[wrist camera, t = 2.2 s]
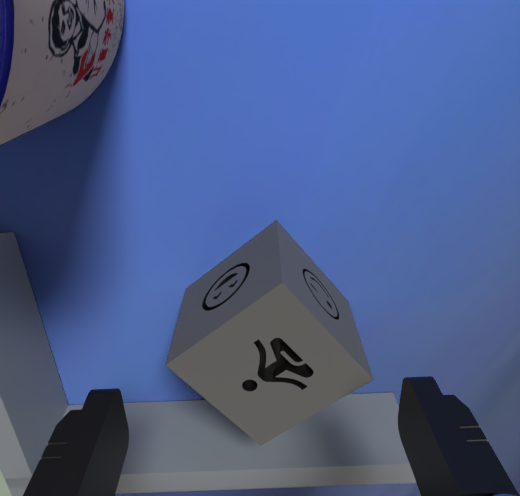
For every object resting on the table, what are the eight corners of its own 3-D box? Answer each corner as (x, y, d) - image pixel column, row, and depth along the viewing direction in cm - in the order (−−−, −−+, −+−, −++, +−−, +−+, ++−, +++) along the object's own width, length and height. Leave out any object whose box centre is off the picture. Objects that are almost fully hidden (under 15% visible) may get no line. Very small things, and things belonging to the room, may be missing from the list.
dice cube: (347, 299, 20) (373, 379, 16) (260, 357, 22) (260, 445, 17) (276, 219, 18) (282, 282, 14) (186, 287, 20) (165, 365, 15)
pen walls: (412, 214, 18) (450, 261, 15) (391, 410, 23) (416, 483, 19) (-16, 233, 18) (-82, 284, 15) (50, 423, 23) (12, 497, 20)
